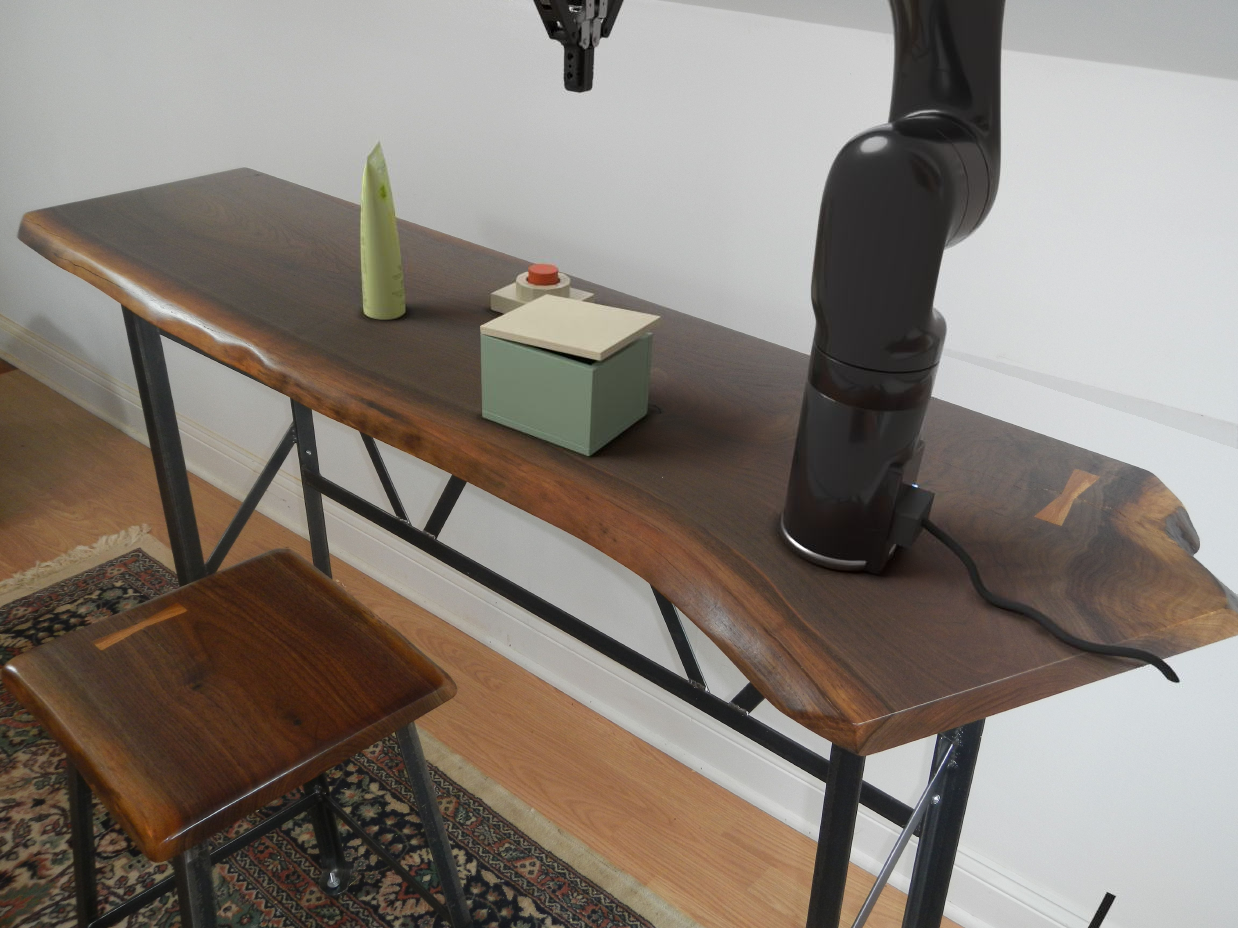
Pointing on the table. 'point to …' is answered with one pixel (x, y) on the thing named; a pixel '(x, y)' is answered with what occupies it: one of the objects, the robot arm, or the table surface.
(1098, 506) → the table surface
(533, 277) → the button
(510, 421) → the chest
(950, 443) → the table surface
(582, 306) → the lid
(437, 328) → the table surface
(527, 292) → the button box
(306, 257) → the table surface
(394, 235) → the tube
